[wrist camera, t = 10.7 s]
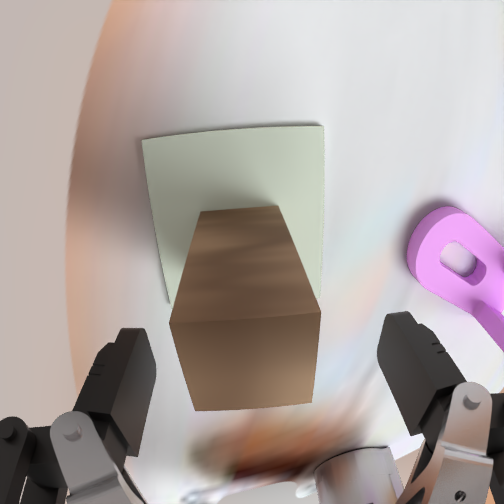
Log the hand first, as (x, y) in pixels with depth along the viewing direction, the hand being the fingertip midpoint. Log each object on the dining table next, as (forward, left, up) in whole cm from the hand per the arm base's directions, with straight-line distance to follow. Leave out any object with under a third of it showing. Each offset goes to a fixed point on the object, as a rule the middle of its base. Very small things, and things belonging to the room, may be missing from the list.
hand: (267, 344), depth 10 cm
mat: (+1, -1, -8) cm, 8 cm away
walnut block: (+1, 0, -8) cm, 8 cm away
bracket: (-16, +3, -9) cm, 18 cm away
